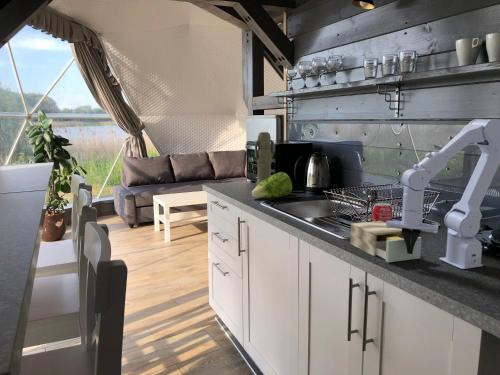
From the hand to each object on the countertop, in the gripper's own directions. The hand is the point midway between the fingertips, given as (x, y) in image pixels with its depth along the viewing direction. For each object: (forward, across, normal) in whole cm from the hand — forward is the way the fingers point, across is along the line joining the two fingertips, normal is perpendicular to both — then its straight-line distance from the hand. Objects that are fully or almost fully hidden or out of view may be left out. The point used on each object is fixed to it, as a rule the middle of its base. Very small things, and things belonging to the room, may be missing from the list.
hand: (410, 253), depth 132 cm
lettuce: (+4, +81, -80) cm, 114 cm away
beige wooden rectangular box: (+3, +12, -12) cm, 17 cm away
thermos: (+4, +92, -96) cm, 133 cm away
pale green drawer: (+3, +7, -7) cm, 10 cm away
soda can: (+4, +13, -29) cm, 32 cm away
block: (+2, +5, -5) cm, 8 cm away
